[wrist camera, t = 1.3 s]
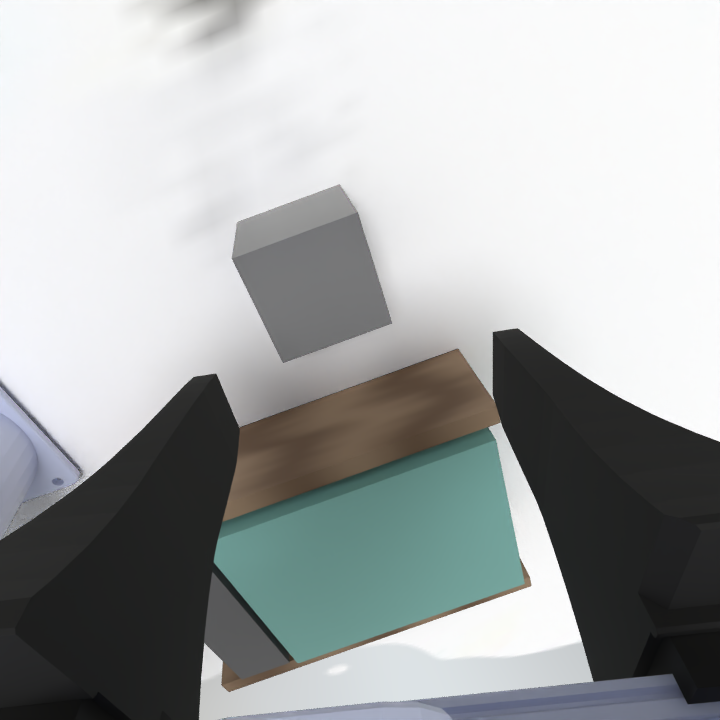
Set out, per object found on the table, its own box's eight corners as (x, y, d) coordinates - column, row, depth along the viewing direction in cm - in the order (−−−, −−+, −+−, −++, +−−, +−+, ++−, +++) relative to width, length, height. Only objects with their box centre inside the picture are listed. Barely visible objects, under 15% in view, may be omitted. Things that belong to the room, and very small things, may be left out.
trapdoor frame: (232, 613, 33) (228, 692, 29) (110, 474, 25) (80, 555, 21) (497, 519, 33) (531, 585, 29) (458, 348, 25) (497, 406, 21)
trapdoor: (243, 638, 30) (241, 683, 28) (139, 524, 24) (126, 571, 22) (505, 546, 30) (524, 583, 28) (474, 404, 23) (495, 439, 21)
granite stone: (279, 312, 22) (283, 363, 19) (237, 221, 20) (231, 258, 16) (369, 279, 22) (392, 323, 19) (339, 183, 20) (357, 212, 16)
